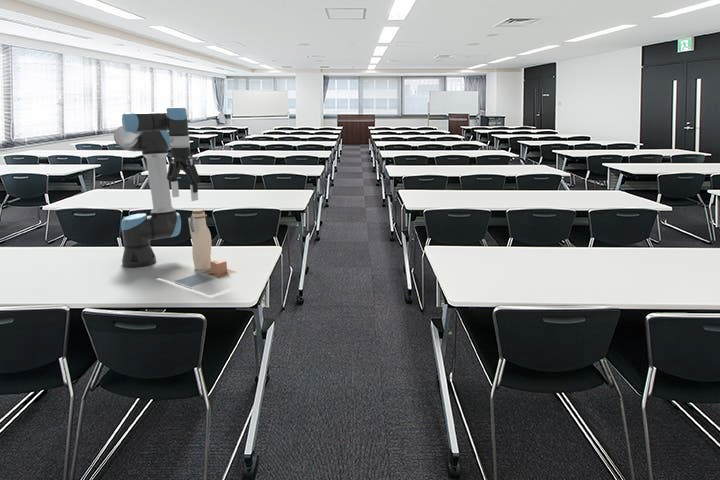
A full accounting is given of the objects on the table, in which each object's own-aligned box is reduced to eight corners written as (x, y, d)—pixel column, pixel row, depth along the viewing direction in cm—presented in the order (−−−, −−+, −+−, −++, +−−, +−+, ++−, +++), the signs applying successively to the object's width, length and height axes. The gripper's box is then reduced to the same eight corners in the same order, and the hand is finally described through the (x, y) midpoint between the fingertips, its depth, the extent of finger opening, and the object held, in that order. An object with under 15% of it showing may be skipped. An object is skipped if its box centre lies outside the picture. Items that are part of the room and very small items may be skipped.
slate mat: (174, 283, 224) (174, 281, 224) (198, 275, 233) (198, 273, 233) (191, 289, 217) (191, 286, 217) (214, 281, 226) (214, 278, 226)
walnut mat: (201, 274, 235) (201, 272, 234) (220, 268, 242) (219, 266, 242) (218, 279, 227) (218, 277, 227) (236, 273, 235) (236, 271, 235)
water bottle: (206, 273, 236) (201, 213, 229) (188, 272, 238) (182, 212, 231) (217, 266, 246) (212, 208, 239) (199, 265, 248) (194, 207, 240)
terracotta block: (211, 272, 234) (210, 261, 233) (220, 269, 238) (219, 259, 237) (218, 274, 231) (217, 263, 230) (227, 271, 235) (226, 261, 234)
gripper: (154, 145, 214) (160, 196, 220) (190, 148, 199) (195, 203, 205) (170, 144, 220) (176, 194, 225) (206, 147, 205) (211, 200, 210)
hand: (185, 198), depth 215 cm, fingers open, 13 cm apart
